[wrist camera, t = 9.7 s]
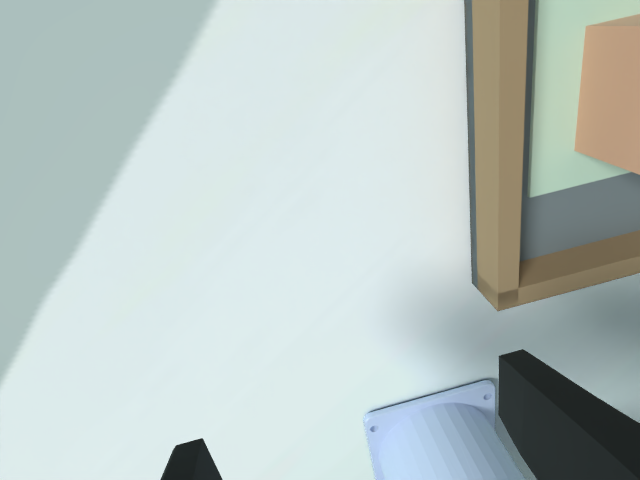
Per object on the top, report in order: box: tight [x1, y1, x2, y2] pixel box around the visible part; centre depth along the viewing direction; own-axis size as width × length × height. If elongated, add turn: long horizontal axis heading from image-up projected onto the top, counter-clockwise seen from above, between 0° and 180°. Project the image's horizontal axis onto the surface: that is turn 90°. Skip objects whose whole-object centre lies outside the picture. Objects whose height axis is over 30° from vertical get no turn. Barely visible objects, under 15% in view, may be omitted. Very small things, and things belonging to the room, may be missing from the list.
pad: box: [527, 0, 640, 198], centre depth 18 cm, size 9×9×1 cm
